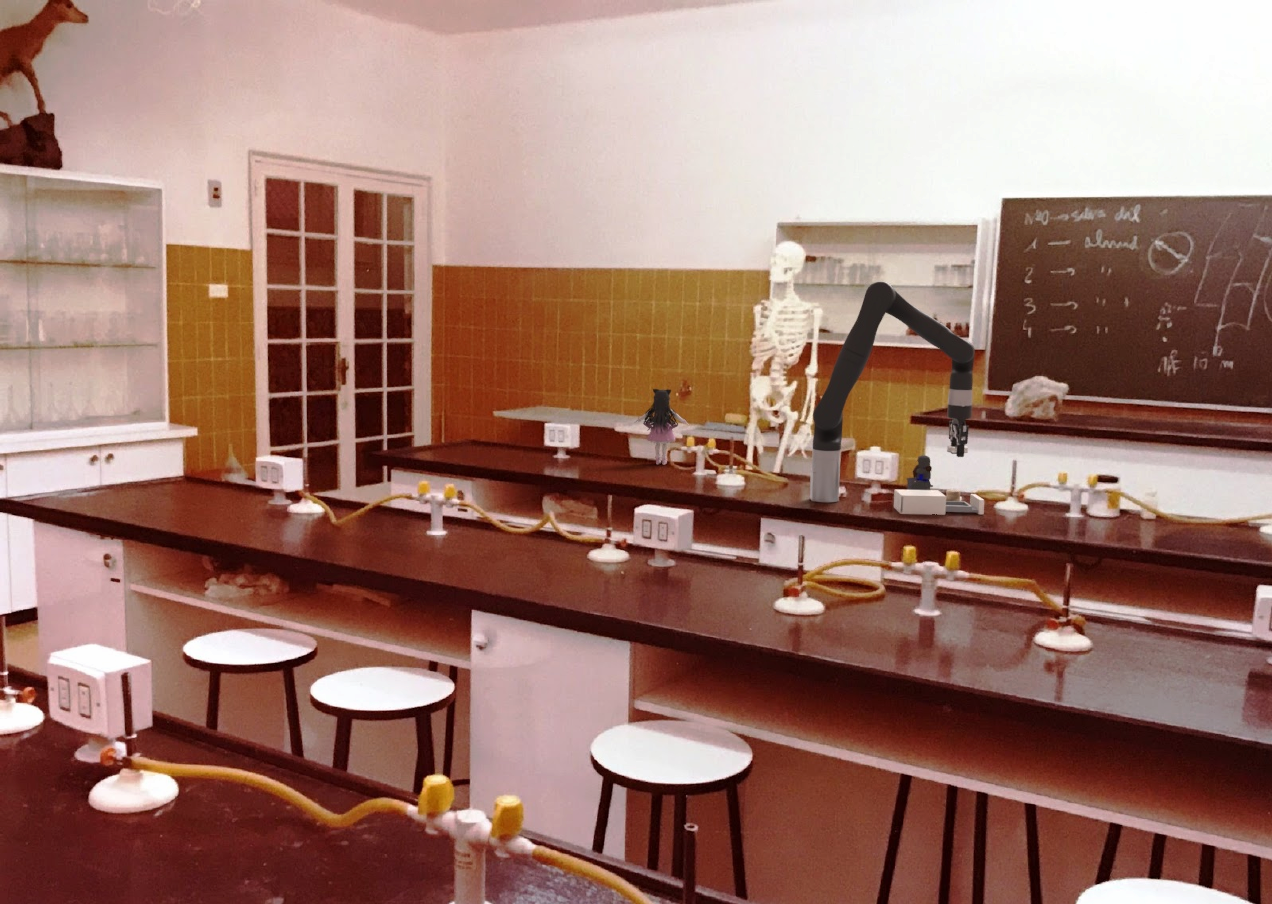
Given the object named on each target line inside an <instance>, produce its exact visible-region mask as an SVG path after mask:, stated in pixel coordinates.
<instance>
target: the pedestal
mask: <svg viewBox="0 0 1272 904" xmlns="http://www.w3.org/2000/svg"><path fill="white" fill-rule="evenodd" d="M945 492H946V493H945V494H946V495H945V496H946V501H961V490H956V489H947V490H946V491H945Z"/></svg>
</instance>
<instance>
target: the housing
mask: <svg viewBox="0 0 1272 904" xmlns="http://www.w3.org/2000/svg"><path fill="white" fill-rule="evenodd" d="M893 509H895V510H896V511H897V512H898V513H899V514H900V515H932V514H935V515H936V514H937V515H938V516H939V515H942V516H945V515H946V512H945V511H946V495H945V494H944V493H942V492H941V491H940V490H938V489H930V490H906V489H894V495H893Z"/></svg>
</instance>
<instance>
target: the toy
mask: <svg viewBox="0 0 1272 904" xmlns="http://www.w3.org/2000/svg"><path fill="white" fill-rule="evenodd" d="M916 461H917V464H916V465H915V467H914V468H913V470H912V475H913V477H907V478H906V480H907V481H906V482H907V483H906V485H907V487H906V489H905V490H931V488H933V487H934V485H933V484H931V480H930V479H931V478H932V477H931V476H932V471H933V470H932V469H933V467H932V466H931V458H930V457H929V455H920V456H918V457H917V460H916Z"/></svg>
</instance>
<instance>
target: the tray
mask: <svg viewBox="0 0 1272 904" xmlns="http://www.w3.org/2000/svg"><path fill="white" fill-rule="evenodd" d="M969 498H970V500H969V503H968V502H967V501H965V500H963V501H961V500H960V501H946V511H945V513H946V512H947V513H950V512H951V513H976V514H977V515H984V513H985V512H984V511H985V499H983V498H982V497H980V496H979V495H977V494H976V493H971V494H970V497H969Z"/></svg>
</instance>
